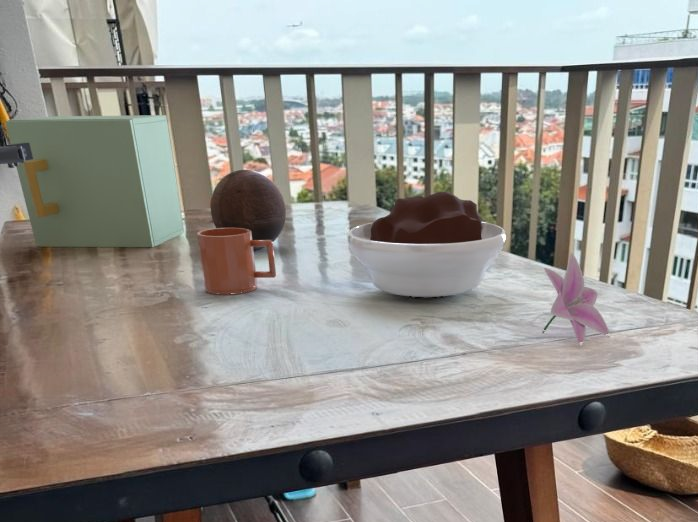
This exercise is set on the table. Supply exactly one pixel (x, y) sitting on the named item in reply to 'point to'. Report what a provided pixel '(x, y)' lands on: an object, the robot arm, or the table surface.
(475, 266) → the filled white bowl
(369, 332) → the table surface
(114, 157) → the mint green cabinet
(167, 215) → the cupboard
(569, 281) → the lily
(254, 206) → the wooden sphere
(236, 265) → the mug
